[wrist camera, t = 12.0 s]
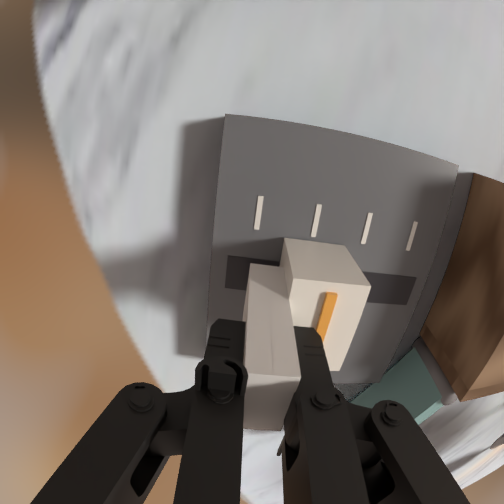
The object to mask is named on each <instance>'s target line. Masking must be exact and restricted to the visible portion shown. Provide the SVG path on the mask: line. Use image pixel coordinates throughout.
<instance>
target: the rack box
mask: <svg viewBox="0 0 504 504" xmlns="http://www.w3.org/2000/svg"><path fill="white" fill-rule="evenodd" d="M420 335H421V337H422V339H423V340H424V342H425V343H426V345H427V346H428V348H429V350H430V351H431V353H432V354H433V356H434V358H435V359H436V361H437V363H438V364H439V366H440V368H441V369H442V371H443V373H444V374H445V376H446V378H447V380H448V381H449V383H450V385H451V387H452V388H453V390H454V392H455V394H456V395H457V397H458V399H459V401H460V402H462V401H467V400H472V399H476V398H480V397H484V396H488V395H492V394H496V393H499V392H503V391H504V183H502V182H499V181H496V180H494V179H491V178H488V177H485V176H482V175H479V174H476V173H474V174H473V179H472V184H471V188H470V193H469V197H468V201H467V205H466V209H465V213H464V216H463V220H462V223H461V227H460V230H459V234H458V237H457V240H456V243H455V246H454V249H453V252H452V255H451V258H450V261H449V264H448V267H447V270H446V272H445V275H444V278H443V280H442V283H441V285H440V288H439V291H438V293H437V295H436V298H435V300H434V303H433V305H432V307H431V310H430V312H429V314H428V316H427V319H426V321H425V323H424V325H423V327H422V329H421V331H420Z"/></svg>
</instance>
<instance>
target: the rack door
mask: <svg viewBox="0 0 504 504" xmlns="http://www.w3.org/2000/svg"><path fill="white" fill-rule="evenodd" d="M412 348H413V349H412V350H411V351H410V352H409V353H408V354H406V355H405V356H404V357H403V358H402V359H401V360H400V361H399V362H398V363H397V364H396V365H394V366H393V367H392V368H391V369H390V370H389V371H388V372H387V373H385V374H384V375H383V377H382V379H381V381H380V382H379V383H374V384H372V385H371V386H370V387H369V388H367V389H366V390H365V391H364V392H362V393H361V394H360V395H359V396H357V397H356V398H355V399H354V400H352V401H351V402H350V403H352V404H355V405H359V406H363V407H368V408H373V407H374V405H375V404H376V403H378V402H380V401H382V400H392V401H396V402H398V403H400V404H402V405H403V406H404V407H405V408H406V409H407V410H408V411H409V412H410V414H411V415H412V417H413V418H414V420H415V421H416V422H417V424H418V425H419V424H420V423H422V422H423V421H424V420H426V419H427V418H428V417H430V416H431V415H432V414H434V413H435V412H436V411H437V410H439V409H440V408H441V407H442V406H443V405H449V404H451V403H453V402H454V401H456V400H457V399H458V397H457V395H456V394H455V392H454V390H453V388H452V387H451V385H450V383H449V381H448V380H447V378H446V376H445V374H444V373H443V371H442V369H441V368H440V366H439V364H438V363H437V361H436V359H435V358H434V356H433V354H432V353H431V351H430V350H429V348H428V346H427V345H426V343H425V342H424V340H423V339H422V337H420V338H418V339H417V340H416V341H415V342H414V343H413V346H412Z"/></svg>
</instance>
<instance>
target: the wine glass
mask: <svg viewBox="0 0 504 504" xmlns="http://www.w3.org/2000/svg"><path fill="white" fill-rule="evenodd" d="M502 444H504V434H503V435H502V436H501V437H500V438H499V439H497V440H496V441H495V442H494V443H493V445H492V446H491V448H490V449H495V448H497V447H498V446H500V445H502Z"/></svg>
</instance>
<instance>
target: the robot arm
mask: <svg viewBox="0 0 504 504" xmlns="http://www.w3.org/2000/svg"><path fill="white" fill-rule="evenodd" d="M323 347H324V346H323V342H322V338H321V336H320V335H319V334H318V332H317V331H316V330H315V329H314V328H312V327H300V326H293V320H292V314H291V308H290V302H289V298H288V292H287V286H286V280H285V274H284V268H283V267H277V266H269V265H261V264H253V263H250V270H249V277H248V283H247V290H246V297H245V304H244V311H243V321H235V320H228V319H220V318H218V319H217V320H216V321H215V322H214V323H213V324H212V325H211V328H210V332H209V338H208V342H207V346H206V351H205V356H204V359H203V360H202V361H201V362H199V363H198V365H197V367H196V369H195V385H194V386H192V387H191V388H190V389H187V390H185V391H181V392H173V393H162V391H161V390H160V389H159V388H157V387H156V386H154V385H152V384H148V383H144V382H141V383H133V384H130V385H127V386H125V387H124V388H123V389H122V390H121V391H119V393H118V394H117V395H116V396H115V398H114V399H113V400H112V401H111V402H110V404H109V405H108V406H107V407H106V409H105V410H104V411H103V412H102V414H101V415H100V416H99V417H98V418H97V420H96V421H95V422H94V423H93V425H92V426H91V427H90V429H89V430H88V431H87V432H86V433H85V435H84V436H83V437H82V439H81V440H80V441H79V442H78V444H77V445H76V446H75V447H74V449H73V450H72V451H71V453H70V454H69V455H68V456H67V457H66V459H65V460H64V461H63V462H62V464H61V465H60V466H59V467H58V469H57V470H56V471H55V472H54V474H53V475H52V476H51V478H50V479H49V480H48V481H47V483H46V484H45V485H44V487H43V488H42V489H41V490H40V492H39V493H38V494H37V496H36V497H35V498H34V500H33V501H32V502H31V503H30V504H143V503H144V501H145V500H146V498H147V496H148V494H149V493H150V491H151V489H152V487H153V486H154V484H155V482H156V480H157V478H158V477H159V475H160V473H161V471H162V470H163V468H164V466H165V464H166V462H167V461H168V459H169V457H170V456H172V455H182V458H181V463H180V469H179V474H178V479H177V485H176V491H175V497H174V502H173V504H240V486H241V464H242V442H243V428H244V429H256V430H272V431H281V429H282V427H283V424H284V431H285V435H284V437H283V440H282V442H281V444H280V446H279V449H278V452H277V456H280V455H281V453H282V470H283V494H284V504H470V503H469V501H468V499H467V498H466V496H465V495H464V493H463V491H462V490H461V488H460V487H459V485H458V484H457V482H456V481H455V479H454V478H453V476H452V474H451V473H450V471H449V470H448V468H447V467H446V465H445V464H444V462H443V461H442V459H441V458H440V456H439V455H438V453H437V452H436V450H435V449H434V447H433V446H432V444H431V443H430V441H429V440H428V438H427V437H426V436H425V434H424V433H423V431H422V430H421V428H420V427H419V425H418V424H417V422H416V421H415V420H414V418H413V417H412V415H411V414H410V412H409V411H408V410H407V409H406V408H405V407H404V406H403V405H402V404H400V403H398V402H396V401H392V400H382V401H380V402H378V403H376V404H375V405H374V407H373V408H368V407H363V406H359V405H355V404H352V403H349V402H348V401H346V400H345V398H344V396H343V394H342V393H341V392H340V391H339V390H337V389H336V388H334V386H333V382H332V378H331V374H330V370H329V366H328V362H327V358H326V354H325V350H324V348H323Z"/></svg>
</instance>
